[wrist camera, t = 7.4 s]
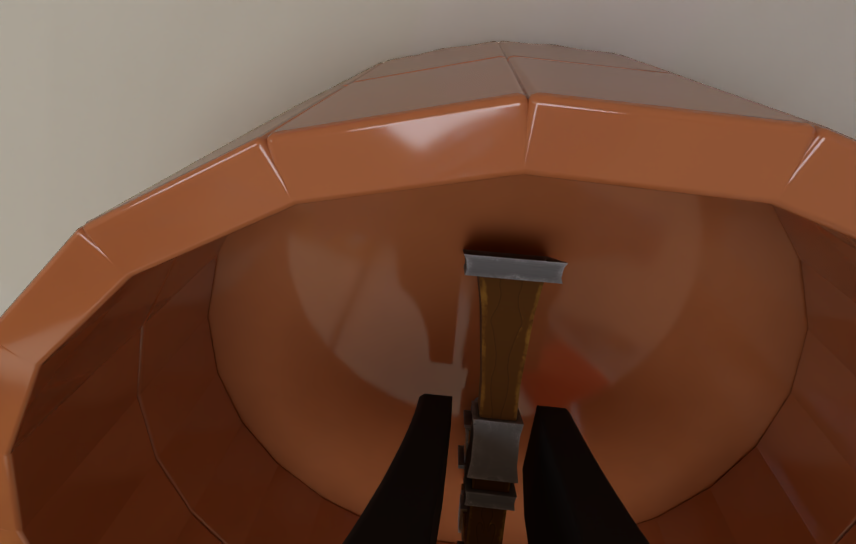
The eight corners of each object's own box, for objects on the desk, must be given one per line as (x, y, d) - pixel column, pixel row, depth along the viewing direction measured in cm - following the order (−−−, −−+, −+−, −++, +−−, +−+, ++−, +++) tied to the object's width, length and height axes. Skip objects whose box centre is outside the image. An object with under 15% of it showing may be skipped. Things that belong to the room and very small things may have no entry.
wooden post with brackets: (435, 526, 13) (425, 679, 9) (460, 244, 13) (463, 254, 8) (499, 534, 13) (522, 692, 9) (529, 250, 12) (571, 263, 8)
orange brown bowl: (992, 92, 8) (1895, 246, 3) (677, 570, 16) (776, 849, 11) (139, -2, 9) (-370, -11, 3) (233, 506, 16) (119, 741, 11)
